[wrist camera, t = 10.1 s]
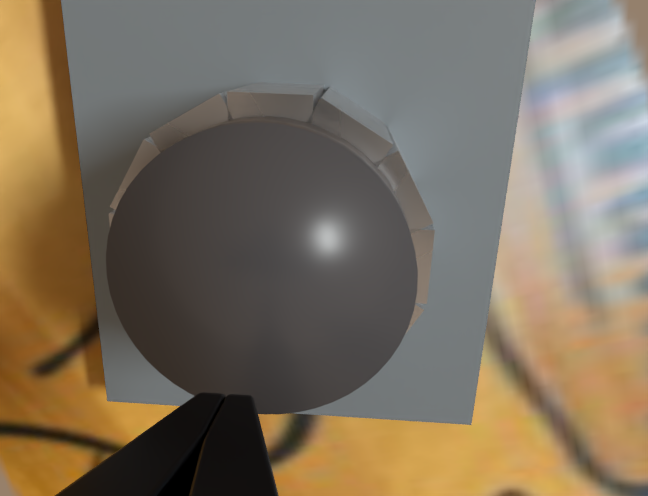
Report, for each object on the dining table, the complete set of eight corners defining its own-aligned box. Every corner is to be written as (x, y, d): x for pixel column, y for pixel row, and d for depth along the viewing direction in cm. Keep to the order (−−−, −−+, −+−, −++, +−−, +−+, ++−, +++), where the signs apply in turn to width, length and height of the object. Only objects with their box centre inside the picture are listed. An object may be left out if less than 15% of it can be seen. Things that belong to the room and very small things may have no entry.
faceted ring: (403, 328, 19) (415, 404, 15) (175, 314, 20) (126, 386, 16) (425, 88, 17) (449, 100, 12) (160, 78, 17) (95, 85, 13)
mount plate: (463, 401, 22) (471, 424, 21) (123, 379, 23) (107, 401, 21) (527, -44, 17) (543, -53, 15) (77, -58, 17) (52, -67, 16)
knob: (392, 328, 18) (404, 422, 14) (180, 316, 19) (121, 405, 14) (410, 108, 16) (432, 130, 11) (166, 98, 16) (88, 116, 11)
